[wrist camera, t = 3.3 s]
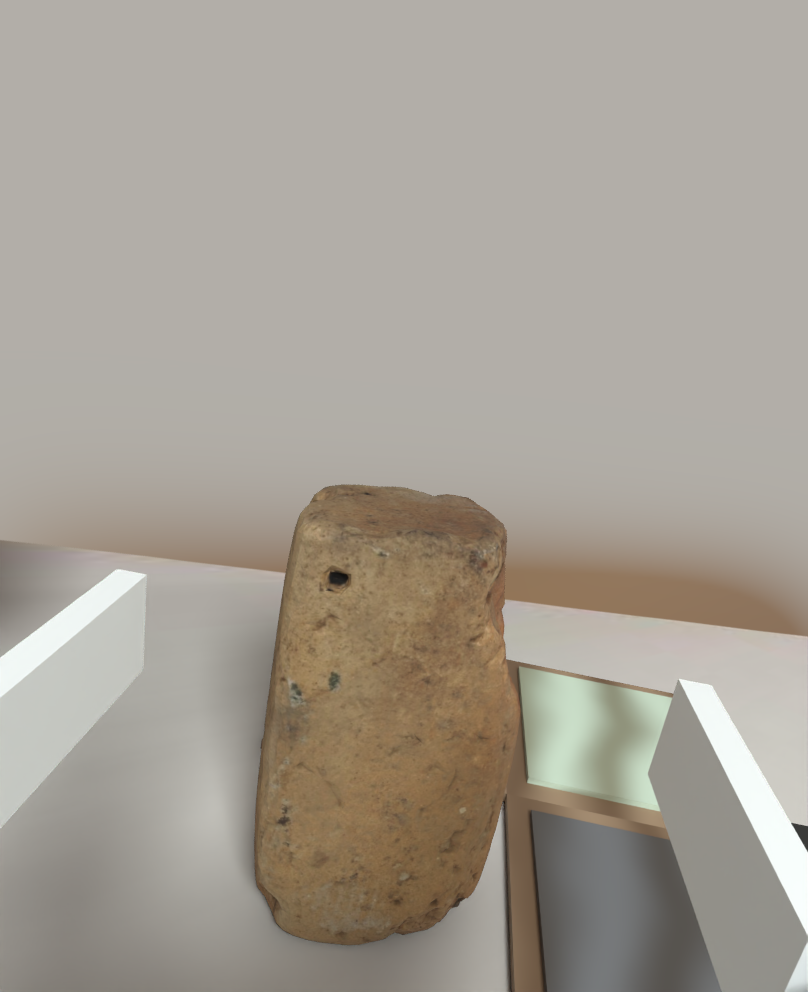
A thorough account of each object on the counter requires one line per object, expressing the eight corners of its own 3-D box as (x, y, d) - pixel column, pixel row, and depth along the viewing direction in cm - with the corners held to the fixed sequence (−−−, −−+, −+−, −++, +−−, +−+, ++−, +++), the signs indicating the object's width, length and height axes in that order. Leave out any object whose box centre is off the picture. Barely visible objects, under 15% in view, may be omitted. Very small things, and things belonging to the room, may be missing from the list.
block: (232, 944, 29) (278, 521, 23) (261, 811, 36) (303, 460, 30) (475, 965, 30) (586, 564, 23) (458, 831, 37) (539, 494, 31)
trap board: (139, 1000, 26) (140, 982, 26) (319, 627, 55) (320, 617, 54) (918, 1190, 24) (929, 1173, 24) (686, 703, 53) (689, 692, 53)
